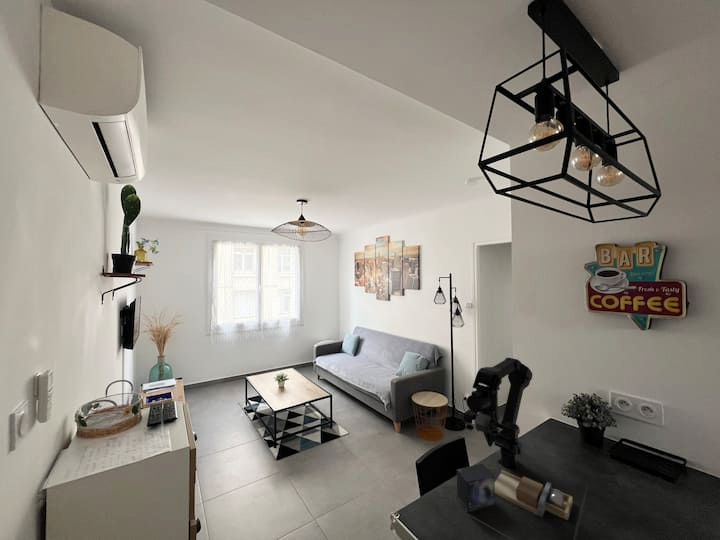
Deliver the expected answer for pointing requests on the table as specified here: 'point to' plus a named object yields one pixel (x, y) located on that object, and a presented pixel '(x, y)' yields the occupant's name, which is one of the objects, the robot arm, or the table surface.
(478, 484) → the small box
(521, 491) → the slab
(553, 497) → the roller
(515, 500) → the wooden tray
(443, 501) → the table surface
